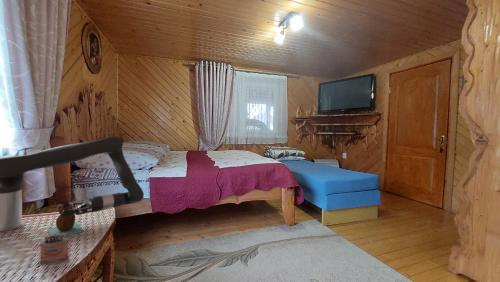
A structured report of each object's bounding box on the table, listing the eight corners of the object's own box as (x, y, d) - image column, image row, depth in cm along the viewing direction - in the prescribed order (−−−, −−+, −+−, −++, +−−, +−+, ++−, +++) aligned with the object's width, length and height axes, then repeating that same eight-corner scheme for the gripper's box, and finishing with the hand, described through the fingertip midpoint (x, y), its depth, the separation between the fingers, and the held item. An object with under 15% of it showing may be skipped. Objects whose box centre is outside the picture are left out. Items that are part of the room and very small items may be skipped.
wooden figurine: (63, 234, 99) (63, 201, 98) (53, 232, 100) (53, 199, 99) (78, 227, 105) (78, 196, 105) (68, 225, 107) (68, 195, 106)
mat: (47, 230, 102) (47, 229, 102) (76, 223, 110) (76, 222, 110) (52, 239, 94) (52, 238, 94) (83, 231, 103) (83, 230, 103)
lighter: (38, 266, 77) (38, 238, 77) (42, 260, 80) (42, 233, 80) (66, 261, 81) (67, 235, 80) (69, 256, 84) (70, 230, 83)
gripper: (97, 192, 117) (56, 198, 105) (106, 199, 108) (63, 207, 96) (96, 206, 118) (56, 214, 105) (106, 214, 109) (63, 223, 96)
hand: (60, 210), depth 100 cm, fingers open, 7 cm apart
